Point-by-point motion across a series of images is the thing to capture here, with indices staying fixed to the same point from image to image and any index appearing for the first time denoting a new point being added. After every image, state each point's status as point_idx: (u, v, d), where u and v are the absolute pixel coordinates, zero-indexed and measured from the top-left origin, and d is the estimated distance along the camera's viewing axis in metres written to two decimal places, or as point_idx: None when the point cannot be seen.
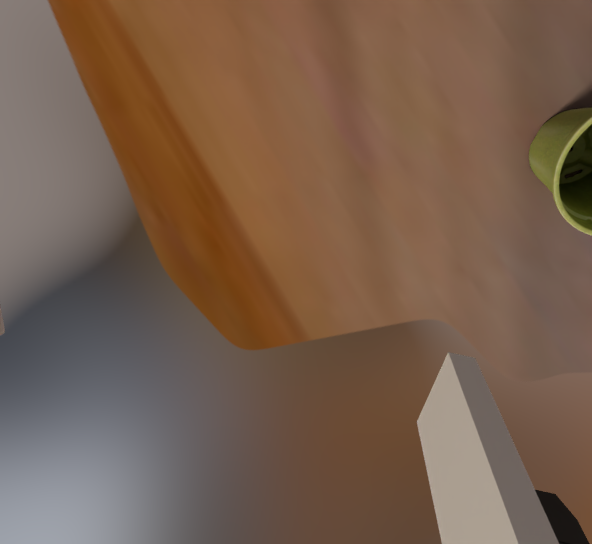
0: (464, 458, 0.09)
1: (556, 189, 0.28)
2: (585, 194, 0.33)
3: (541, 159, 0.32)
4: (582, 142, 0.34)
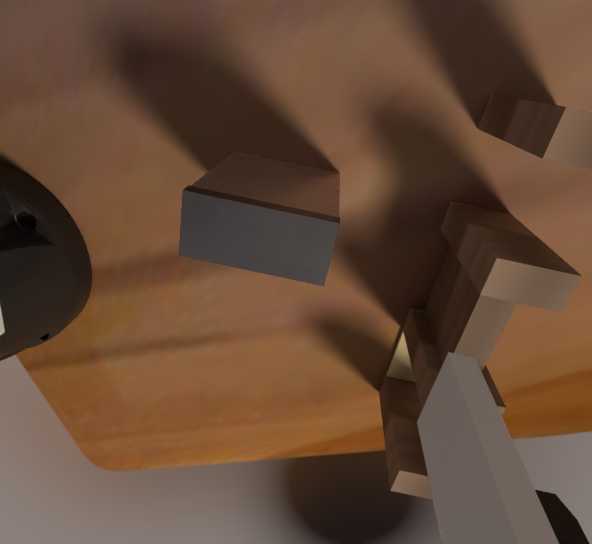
0: (463, 458, 0.09)
1: None
2: None
3: None
4: None
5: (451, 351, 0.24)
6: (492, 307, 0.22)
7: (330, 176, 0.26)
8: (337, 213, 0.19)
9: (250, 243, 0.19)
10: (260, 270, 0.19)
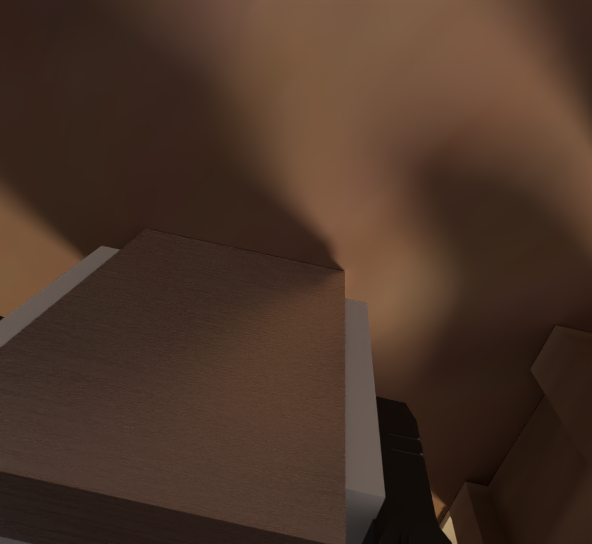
0: None
1: None
2: None
3: None
4: None
5: None
6: None
7: (326, 289, 0.13)
8: (340, 499, 0.07)
9: None
10: None
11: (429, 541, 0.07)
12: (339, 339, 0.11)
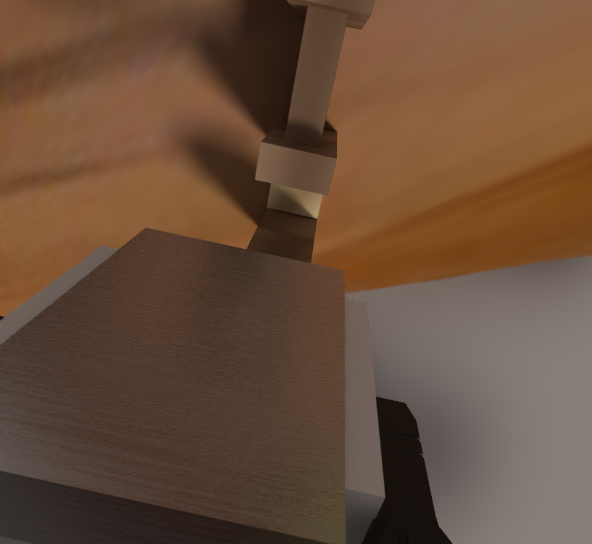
0: None
1: None
2: None
3: None
4: None
5: (289, 113, 0.23)
6: (318, 45, 0.21)
7: (326, 288, 0.13)
8: (339, 498, 0.07)
9: None
10: None
11: (429, 541, 0.07)
12: (339, 338, 0.11)
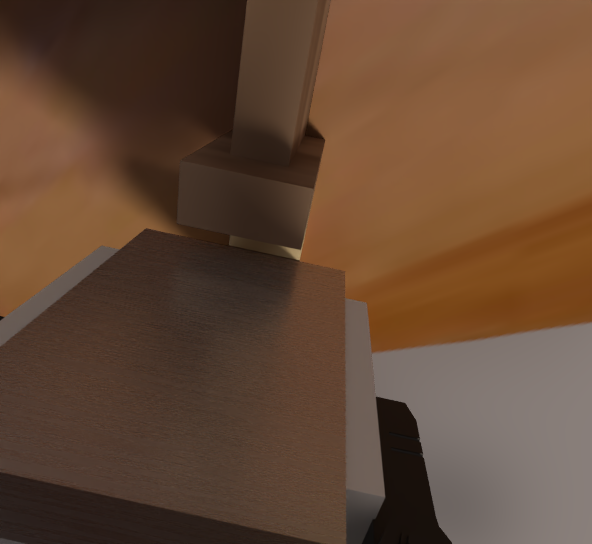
0: None
1: None
2: None
3: None
4: None
5: None
6: None
7: (326, 289, 0.13)
8: (340, 500, 0.07)
9: None
10: None
11: (429, 541, 0.07)
12: (339, 339, 0.11)
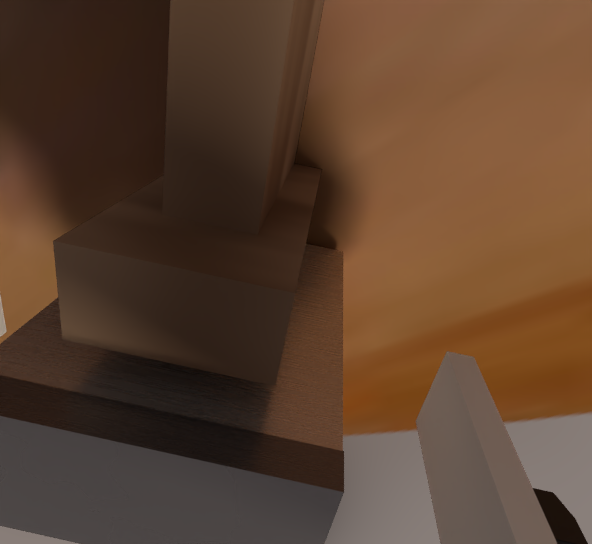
0: (461, 456, 0.09)
1: None
2: None
3: None
4: None
5: None
6: None
7: (326, 265, 0.14)
8: (338, 420, 0.08)
9: (120, 510, 0.08)
10: None
11: None
12: (338, 305, 0.12)
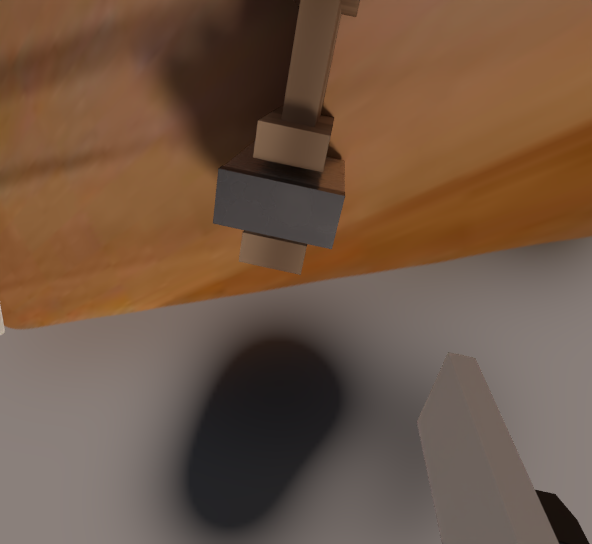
0: (463, 458, 0.09)
1: None
2: None
3: None
4: None
5: None
6: (312, 27, 0.22)
7: (336, 163, 0.30)
8: (343, 189, 0.24)
9: (272, 213, 0.23)
10: (279, 235, 0.24)
11: None
12: (342, 172, 0.28)
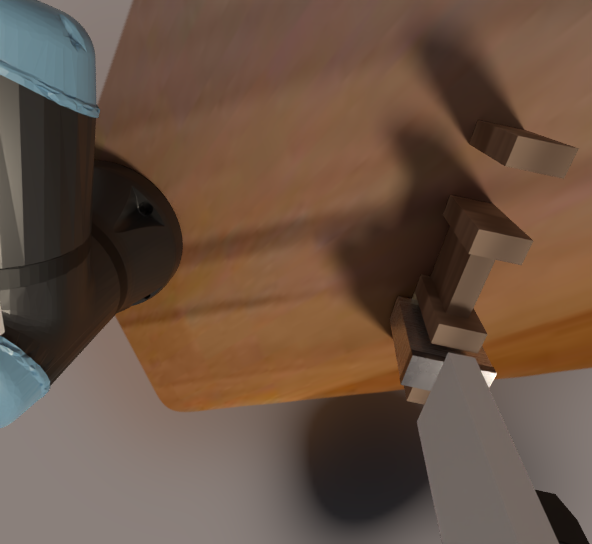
0: (463, 458, 0.09)
1: None
2: None
3: None
4: None
5: (450, 298, 0.35)
6: (477, 265, 0.33)
7: None
8: (489, 361, 0.35)
9: None
10: None
11: None
12: None
